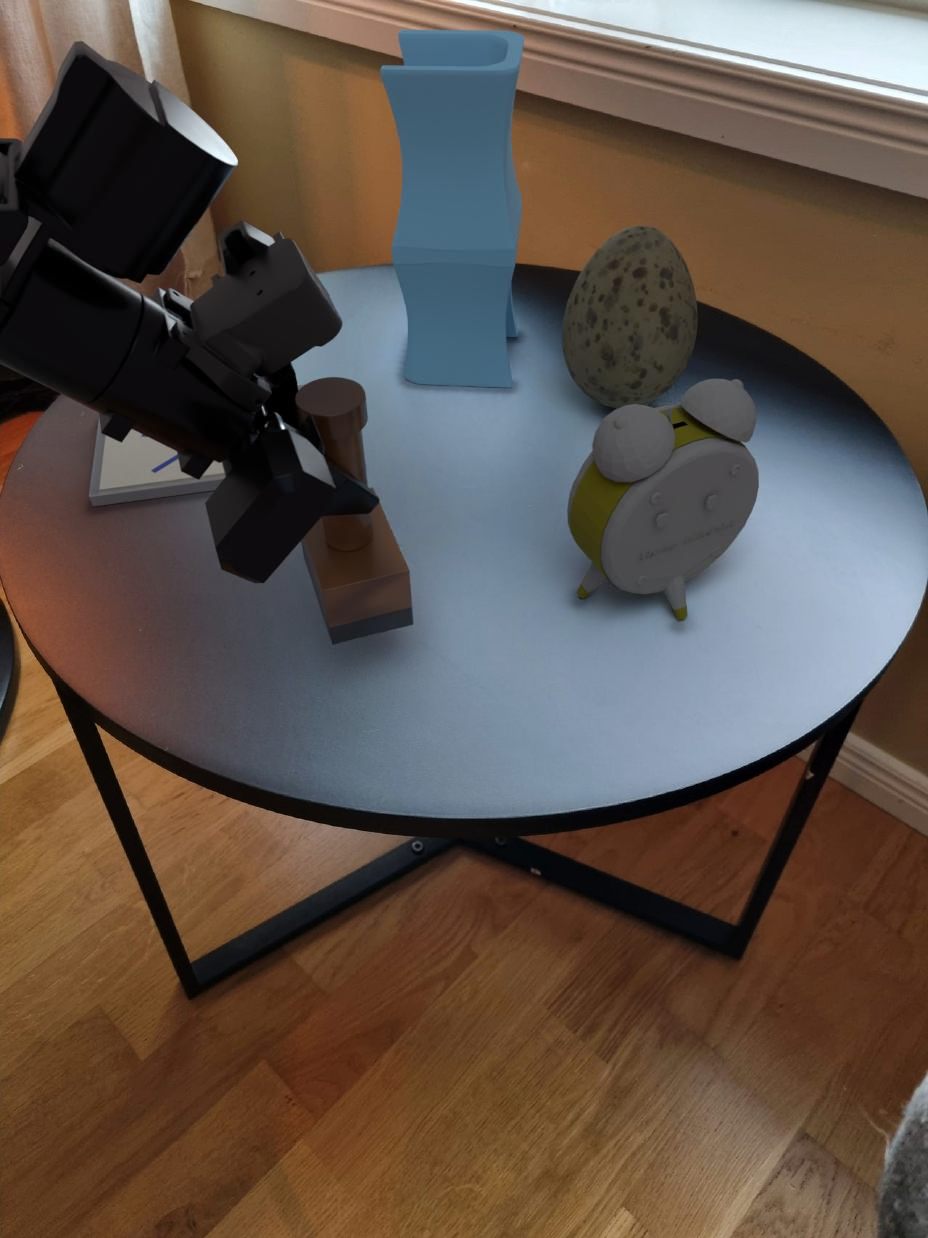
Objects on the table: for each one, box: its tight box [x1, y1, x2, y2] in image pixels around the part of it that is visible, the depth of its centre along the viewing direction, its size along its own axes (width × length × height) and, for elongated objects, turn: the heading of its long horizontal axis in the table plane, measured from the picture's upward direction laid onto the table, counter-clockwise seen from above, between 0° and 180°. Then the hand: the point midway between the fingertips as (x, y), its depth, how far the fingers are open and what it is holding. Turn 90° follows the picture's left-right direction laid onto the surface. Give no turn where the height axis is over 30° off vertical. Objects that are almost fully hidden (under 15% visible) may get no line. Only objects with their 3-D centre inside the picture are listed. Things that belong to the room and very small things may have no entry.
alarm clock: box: [566, 378, 760, 620], centre depth 58 cm, size 12×7×15 cm, turn 117°
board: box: [88, 383, 306, 507], centre depth 76 cm, size 20×12×1 cm, turn 101°
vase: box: [379, 29, 525, 389], centre depth 76 cm, size 10×10×25 cm
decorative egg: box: [561, 224, 698, 410], centre depth 74 cm, size 11×11×15 cm
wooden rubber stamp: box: [295, 376, 414, 646], centre depth 52 cm, size 5×8×14 cm, turn 19°
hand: (367, 489), depth 52 cm, fingers closed on wooden rubber stamp, 3 cm apart
